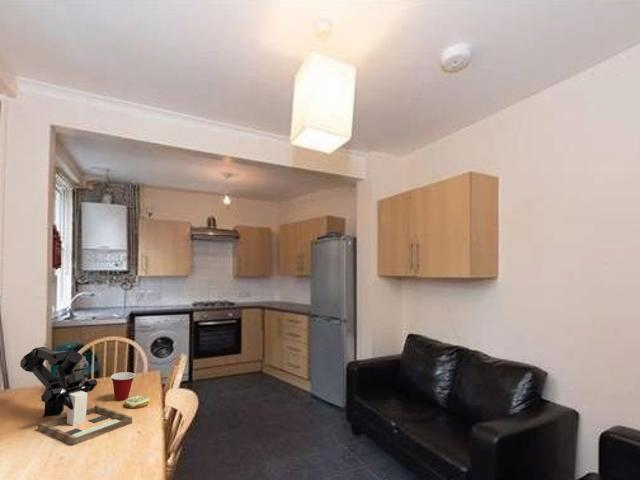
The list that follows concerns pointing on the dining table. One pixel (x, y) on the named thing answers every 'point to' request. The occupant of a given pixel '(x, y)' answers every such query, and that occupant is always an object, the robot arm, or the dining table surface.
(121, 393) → the plastic cup
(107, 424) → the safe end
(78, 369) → the apothecary jar
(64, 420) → the brown flat frame
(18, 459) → the dining table surface
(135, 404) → the decorated donut
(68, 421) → the pale cream block
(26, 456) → the dining table surface
